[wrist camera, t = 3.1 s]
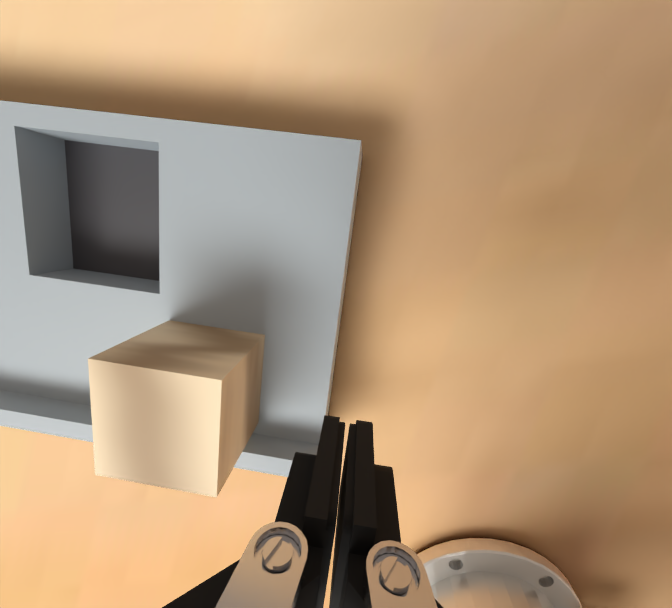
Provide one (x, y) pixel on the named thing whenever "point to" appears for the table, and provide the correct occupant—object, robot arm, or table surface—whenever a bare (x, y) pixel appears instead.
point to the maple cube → (176, 405)
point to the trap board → (170, 258)
